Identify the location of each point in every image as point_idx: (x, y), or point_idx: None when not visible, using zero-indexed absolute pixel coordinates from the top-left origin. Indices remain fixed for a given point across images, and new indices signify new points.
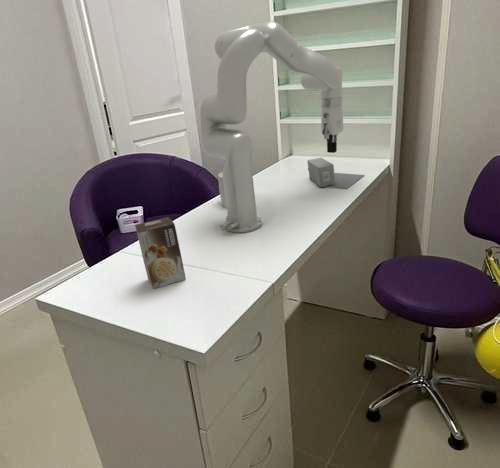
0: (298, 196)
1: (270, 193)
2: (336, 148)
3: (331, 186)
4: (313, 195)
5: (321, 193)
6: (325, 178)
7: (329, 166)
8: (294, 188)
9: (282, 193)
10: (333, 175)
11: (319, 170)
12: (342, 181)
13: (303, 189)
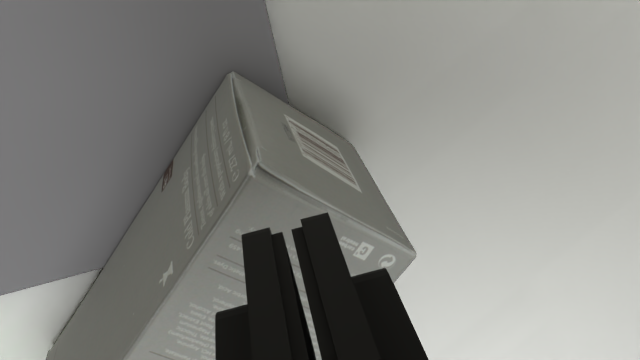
0: (590, 150)
1: (592, 345)
2: (255, 265)
3: (278, 73)
4: (531, 64)
5: (461, 39)
6: (328, 147)
7: (305, 184)
8: (440, 301)
9: (567, 287)
10: (252, 108)
11: (398, 229)
12: (79, 82)
13: (432, 234)
